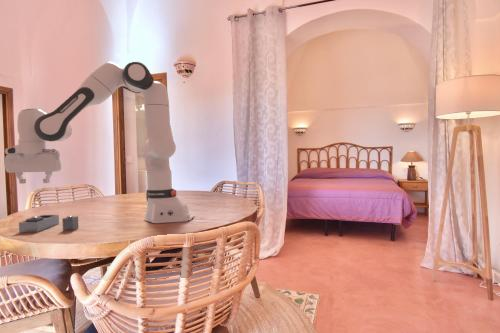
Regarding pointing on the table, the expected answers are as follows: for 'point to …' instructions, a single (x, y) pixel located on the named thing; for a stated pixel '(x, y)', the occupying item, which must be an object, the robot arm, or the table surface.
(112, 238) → the table surface
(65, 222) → the dark grey block
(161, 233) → the table surface
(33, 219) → the nut
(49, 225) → the grey holder block
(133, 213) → the table surface
